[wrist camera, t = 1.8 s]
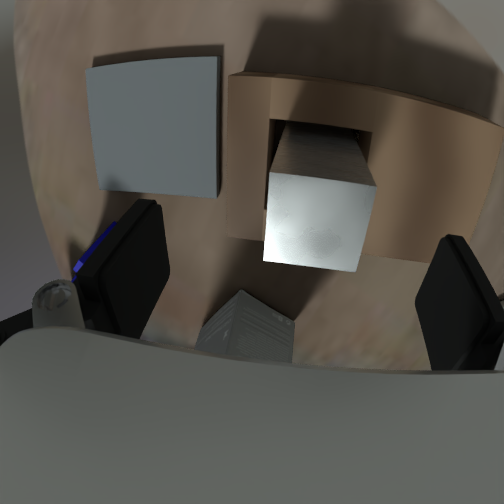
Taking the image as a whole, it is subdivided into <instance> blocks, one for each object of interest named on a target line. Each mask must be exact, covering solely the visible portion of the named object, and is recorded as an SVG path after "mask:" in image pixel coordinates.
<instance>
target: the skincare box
mask: <svg viewBox="0 0 504 504" xmlns="http://www.w3.org/2000/svg"><path fill="white" fill-rule="evenodd" d="M294 329H295V322H294V321H292V320H290V319H289V318H287V317H285V316H284V315H282V314H280V313H278V312H277V311H275V310H273V309H271V308H270V307H268V306H266V305H265V304H263V303H262V302H260V301H259V300H257V299H255V298H254V297H252V296H251V295H249V294H248V293H246V292H245V291H243V290H239V291H238V293H237V294H236V295H235V296H233V297H232V298H231V299H230V300H229V301H228V302H227V303H226V304H225V305H224V306H223V307H221V308H220V309H219V310H218V311H217V312H216V313H215V314H214V315H213V316H212V317H211V318H210V320H209V321H208V322H207V323H206V324H205V325H204V326H203V327H202V328H201V330H200V333H199V336H198V339H197V342H196V345H195V348H194V350H199V351H205V352H212V353H218V354H225V355H231V356H238V357H246V358H253V359H261V360H269V361H278V362H287V363H292V353H293V342H294Z"/></svg>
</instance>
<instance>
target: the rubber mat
mask: <svg viewBox="0 0 504 504" xmlns="http://www.w3.org/2000/svg"><path fill="white" fill-rule="evenodd" d="M86 84H87V97H88V108H89V118H90V127H91V136H92V143H93V151H94V158H95V164H96V171H97V177H98V183H99V189H100V190H112V191H128V192H143V193H157V194H170V195H182V196H193V197H204V198H215V199H217V197H218V196H219V107H220V56H208V57H180V58H165V59H153V60H143V61H134V62H125V63H118V64H111V65H105V66H98V67H93V68H88V69H86Z"/></svg>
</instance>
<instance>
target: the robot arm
mask: <svg viewBox="0 0 504 504" xmlns="http://www.w3.org/2000/svg"><path fill="white" fill-rule="evenodd" d="M169 275H170V265H169V258H168V251H167V244H166V237H165V229H164V222H163V213H162V207H161V205H159V204H157V202H156V201H155V200H149V199H138V200H137V201H136V202H135V203H134V204H133V205H132V206H131V208H130V209H129V210H128V211H127V212H126V213H125V214H124V215H123V217H122V218H121V219H120V220H119V221H118V222H117V224H116V225H115V226H114V227H113V228H112V229H111V231H110V232H109V233H108V234H107V235H106V237H105V238H104V239H103V240H102V241H101V243H100V244H99V245H98V246H97V247H96V249H95V250H94V251H93V252H92V254H91V255H90V256H89V257H88V259H87V260H86V261H85V262H84V264H83V265H82V266H81V268H80V269H79V270H78V271H77V273H76V279H75V280H74V281H73V283H72V282H71V281H68V280H65V279H58V280H53V281H51V282H48V283H46V284H44V285H43V286H42V287H41V288H39V289H38V290H37V292H36V293H35V295H34V297H33V299H32V308H31V309H29V310H27V311H24V312H22V313H19V314H17V315H15V316H12V317H10V318H8V319H5V320H3V321H1V322H0V504H504V300H503V301H501V302H500V301H499V299H498V297H497V295H496V293H495V291H494V289H493V287H492V285H491V284H490V282H489V280H488V278H487V276H486V274H485V273H484V271H483V269H482V267H481V266H480V264H479V262H478V260H477V259H476V257H475V255H474V254H473V252H472V250H471V249H470V247H469V245H468V244H467V242H466V240H465V239H464V238H463V236H458V235H452V234H447V235H446V236H445V237H442V238H441V239H440V241H439V244H438V246H437V249H436V251H435V254H434V256H433V259H432V261H431V264H430V266H429V268H428V271H427V273H426V275H425V278H424V280H423V282H422V285H421V287H420V289H419V291H418V293H417V296H416V299H415V307H416V311H417V314H418V318H419V321H420V325H421V328H422V332H423V336H424V340H425V344H426V348H427V352H428V356H429V360H430V364H431V369H432V371H420V370H381V369H361V368H344V367H330V366H318V365H307V364H296V363H287V362H278V361H269V360H261V359H253V358H246V357H238V356H231V355H225V354H218V353H212V352H205V351H199V350H193V349H188V348H182V347H177V346H171V345H166V344H161V343H155V342H150V341H145V340H140V336H141V334H142V332H143V330H144V328H145V326H146V324H147V322H148V320H149V317H150V315H151V313H152V311H153V309H154V307H155V305H156V303H157V301H158V299H159V297H160V295H161V293H162V291H163V289H164V287H165V285H166V283H167V281H168V279H169Z"/></svg>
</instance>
